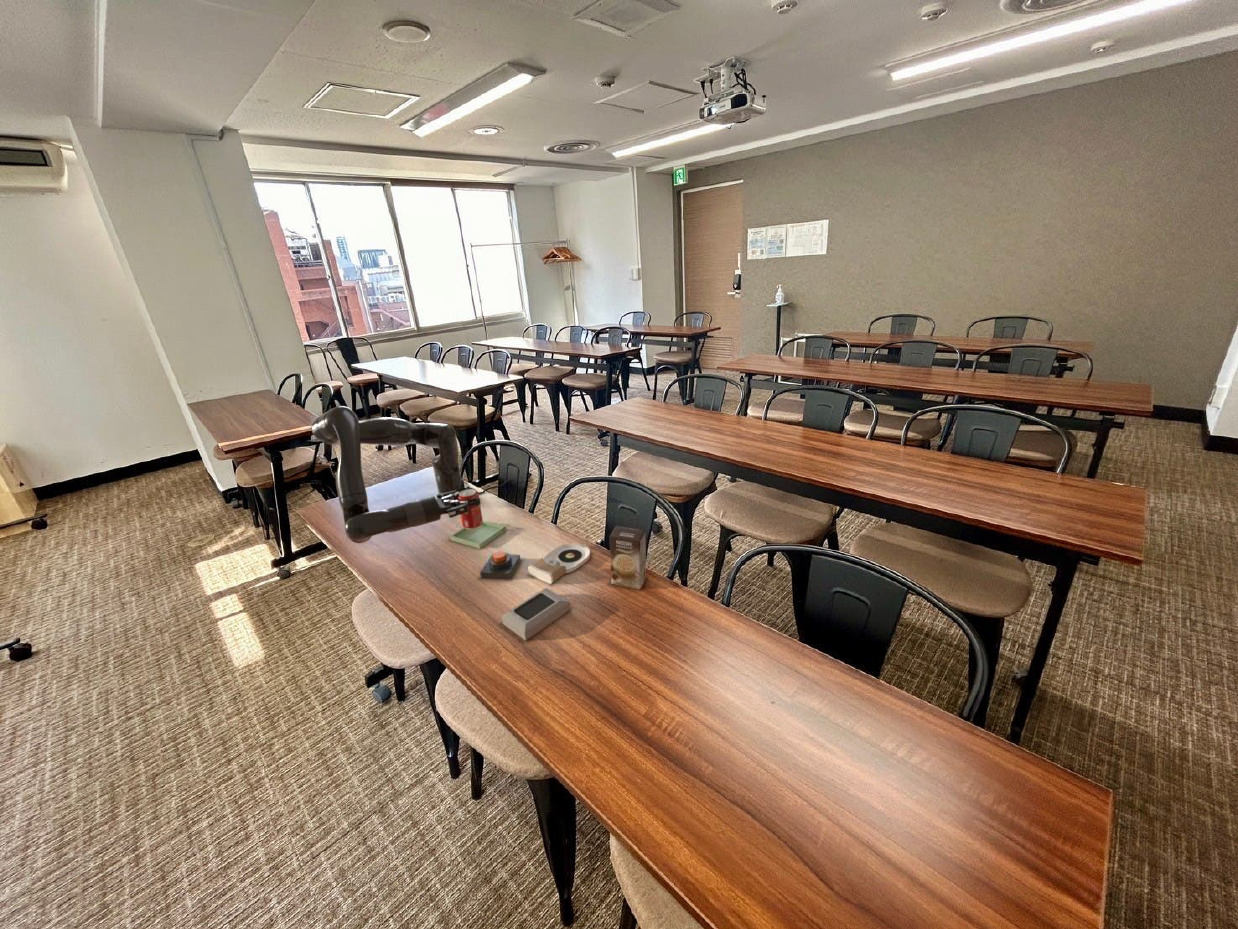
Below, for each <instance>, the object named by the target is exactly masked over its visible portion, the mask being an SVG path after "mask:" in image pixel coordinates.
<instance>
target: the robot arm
mask: <svg viewBox="0 0 1238 929" xmlns="http://www.w3.org/2000/svg"><path fill="white" fill-rule="evenodd" d="M310 429H311V433H312V435H313V436H314V437H315V438H316V440H318V441H319V442H322V443H324V444H326V445H330V446H331V445H333V446H336V445H339V459H338V464H337V469H336V476H335V487H336V492H337V497H338V501H339V505H340V508H341V511H342V516H343V522H344V530H345V534H346V537H347V539H348V540H349V541H350V542H352V543H354V544H364V543H366V542H369V541H370V539H372V537H374V536H377V535H380V534H381V535H382V534H384V533H396V532H400V531H402V530H403V531H404V530H407V529H411V528H416V527H420V526H423V525H426V524H429V523H433V522H437V521H439V520H441V518H442V516H443V515H447V514H448V517H449V518H450V519H451V518H454V517H457V516H461V514H464V513H466V512H469V510H468V509H469V507H473V506H476V505H480V506H481V498H480V497H479V498H478V497H477V498H474V499H470V500H467V501H460V500H458V497H459V493H460V492H461V491H463V490H466V489H474V490H476V489H475V488H473V487H470V485H465V480H464V479H463V478H462V475H461V470H460V463H459V447H458V446H459V445H458V438H457V433H456V430H455V428H454V427H453V426H452V425H451V424H447V423H438V422H430V423H414V422H412V421H411V422H410V421H409V420H406V419H402V418H396V417H387V416H385V417H384V416H383V417H375V418H368V419H363V420H359V417H358V415H357V414H356V413H355V412H354V411H353V410H352V409H351V408H350V407H347V406H344V405H338V406H336V407H333V408H331V409H329V410H328V411H326V412H324V413H322V414H320V415H319V416H317V417H316V418H315V419H314V420H313V422H312V423H311V428H310ZM361 445H375V446H376V445H377V446H393V447H402V446H408V445H419V446H423V447H429V448H434V449H438V451H439V454H438V455H435V456H434V457H433V458H432V460H431V463H432V468H433V469H432V470H433V473H434V478H435V479H434V480H435V481H436V487H437V492H438V493H437V494H436V496H434V495H430V496H427V497H422V498H419V499H416V500H412V501H409V502H406V503H404V504H399V505H397V506H396V505H395V506H392V507H388V508H386V509H381V510H372V511H370V509H369V499H368V494H367V493H368V492H367V490H366V484H365V479H364V475H363V467H362V446H361ZM508 482H510V483H512V482H513V481H512V479H506V480H505V481H504V482H503V483H501V484H500V485H496V486H490V487H487V488H485V489H484V490H482V491H483V492H482V491H480V492H479V491H477V490H476V493H478V495H482V494H484V493H486V492H487V491H489V490H492V489H497V488H498V489H499V488H501V487H503V486H505V485H506V484H507V483H508ZM461 504H462V505H461ZM461 510H463V511H461Z"/></svg>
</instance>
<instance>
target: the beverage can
mask: <svg viewBox="0 0 1238 929" xmlns="http://www.w3.org/2000/svg"><path fill="white" fill-rule="evenodd" d="M474 489H475V488H473V489H466V490H463V491H461V492H460V493H459V497H458V500H460V501H467V500H470V499H474V498H477V497H478V498H480V494H478V493H476V491H477V489H475V490H474ZM461 505H462V504H461ZM481 506H482V505H481V504H480V505H476V506H473V507H469V509H468V510H469V512H466V513H464V514H461V515H460V519H461V525H462V528H466V529H468V530H475V529H478V528H479V527H480V526H481V525H482V523H483V521H484V519H483V513H482V507H481ZM461 511H463V510H461Z"/></svg>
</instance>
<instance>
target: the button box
mask: <svg viewBox="0 0 1238 929" xmlns="http://www.w3.org/2000/svg"><path fill="white" fill-rule="evenodd" d="M504 553H505V556H506V560H504V561H503V562H494V559H493V555H494V553H492V554H491V555H490V557H489V558H488V560H487V562H486V563H485V564H484V566H483V567H482V569H481V570H480V572H479V574H480V579H484V580H504V581H505V580H506V581H510V580H511V579H512V577H513V575H514V573H515V572H516V570H517V568H518V566H519V565H520V562H521V554H510V553H508V552H504Z"/></svg>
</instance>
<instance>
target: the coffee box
mask: <svg viewBox="0 0 1238 929" xmlns="http://www.w3.org/2000/svg"><path fill="white" fill-rule="evenodd" d="M646 532H647V531H646V529H641V528H635V527H628V526H623V525H615V526H614V528H613V529H612V531H611V533H610V534H609V556H610V559H609V560H610V580H611V582H610V583H611V585H616V586H621V587H627V588H631V589H637V590H641V589H642V587H643V585H644V583H645V580H646V579H647V548H646V546H647V545H646V544H647V540H646V539H647V533H646Z"/></svg>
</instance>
